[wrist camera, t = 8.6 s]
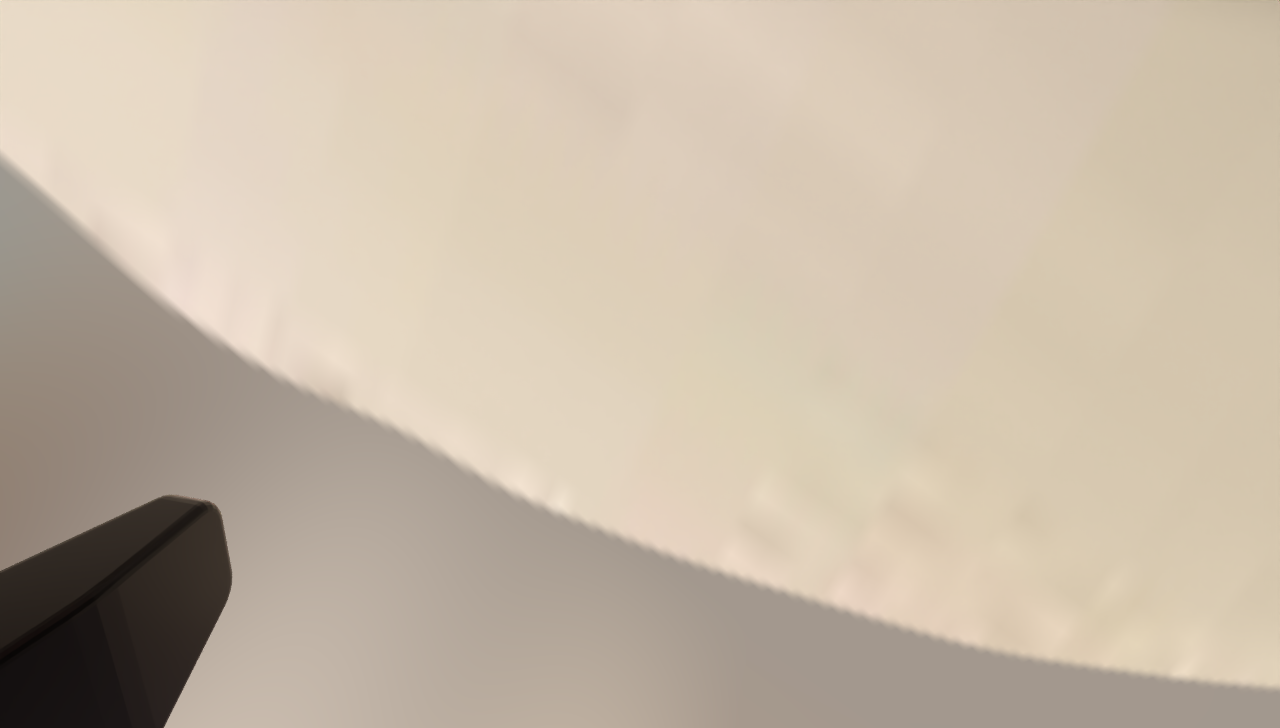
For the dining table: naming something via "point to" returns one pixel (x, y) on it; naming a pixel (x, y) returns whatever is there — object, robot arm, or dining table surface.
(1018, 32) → the dining table surface
